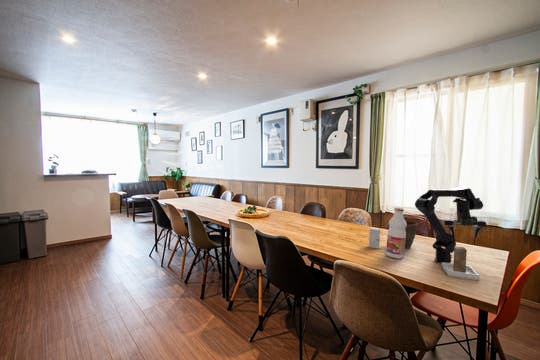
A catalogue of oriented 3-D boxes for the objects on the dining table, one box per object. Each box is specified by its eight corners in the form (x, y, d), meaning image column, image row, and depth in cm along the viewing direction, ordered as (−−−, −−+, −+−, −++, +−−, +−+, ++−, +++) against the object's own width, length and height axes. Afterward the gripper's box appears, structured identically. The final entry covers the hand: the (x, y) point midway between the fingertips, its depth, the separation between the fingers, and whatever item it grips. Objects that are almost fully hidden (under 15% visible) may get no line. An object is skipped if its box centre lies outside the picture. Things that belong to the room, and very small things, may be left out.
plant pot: (416, 251, 154) (416, 225, 153) (389, 247, 163) (389, 222, 162) (418, 245, 166) (418, 221, 166) (393, 242, 175) (393, 219, 174)
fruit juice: (407, 259, 142) (412, 210, 140) (391, 258, 141) (396, 209, 139) (397, 253, 151) (401, 207, 150) (382, 252, 150) (386, 206, 149)
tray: (447, 275, 120) (448, 270, 120) (442, 266, 131) (442, 262, 131) (479, 280, 115) (479, 275, 115) (470, 270, 126) (470, 265, 126)
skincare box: (368, 247, 163) (369, 228, 162) (369, 245, 167) (370, 227, 166) (379, 248, 160) (379, 230, 159) (379, 246, 164) (380, 228, 163)
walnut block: (455, 272, 122) (456, 248, 121) (453, 269, 126) (454, 246, 125) (465, 274, 120) (466, 249, 120) (462, 271, 124) (464, 247, 124)
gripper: (446, 211, 135) (447, 240, 135) (490, 212, 128) (491, 243, 127) (441, 209, 145) (442, 236, 145) (482, 210, 138) (483, 238, 137)
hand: (464, 238), depth 139 cm, fingers open, 9 cm apart
